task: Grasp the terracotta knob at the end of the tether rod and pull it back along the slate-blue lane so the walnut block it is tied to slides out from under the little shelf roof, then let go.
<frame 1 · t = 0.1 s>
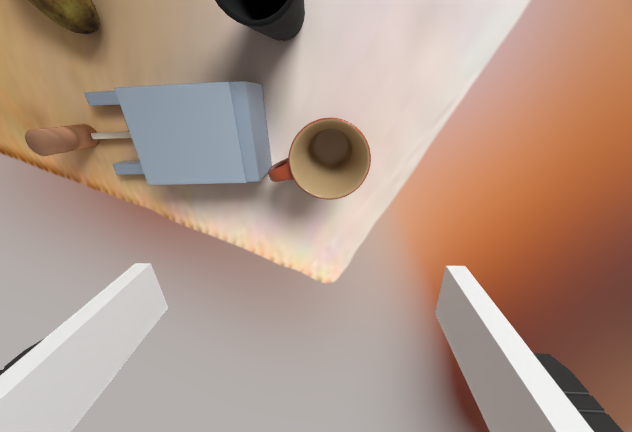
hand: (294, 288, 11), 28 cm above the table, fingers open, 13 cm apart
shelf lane: (182, 131, 36), on the table
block: (222, 130, 36), resting in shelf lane
cup: (281, 12, 30), on the table
mug: (319, 148, 36), on the table
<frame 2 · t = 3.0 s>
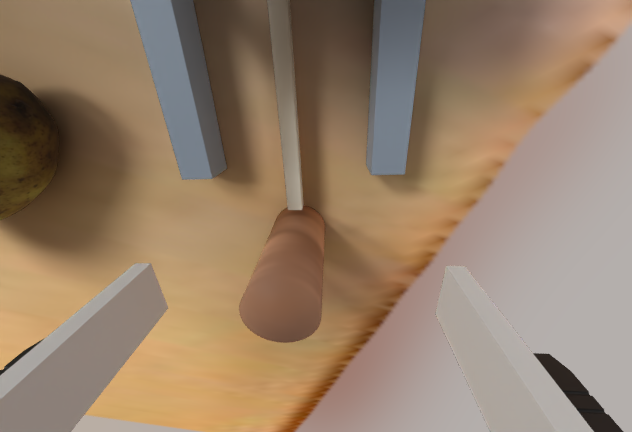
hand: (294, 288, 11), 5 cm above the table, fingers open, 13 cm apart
potato: (1, 156, 15), on the table
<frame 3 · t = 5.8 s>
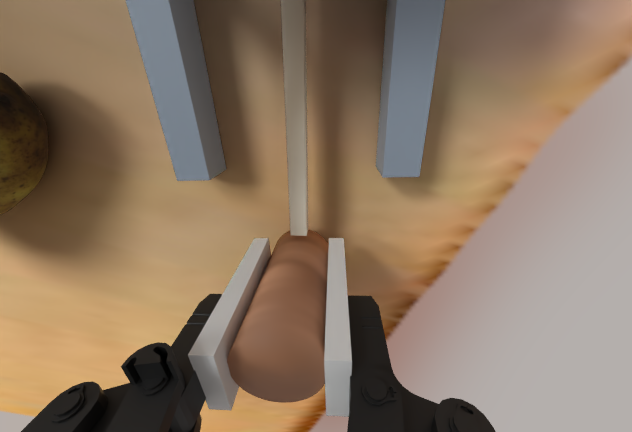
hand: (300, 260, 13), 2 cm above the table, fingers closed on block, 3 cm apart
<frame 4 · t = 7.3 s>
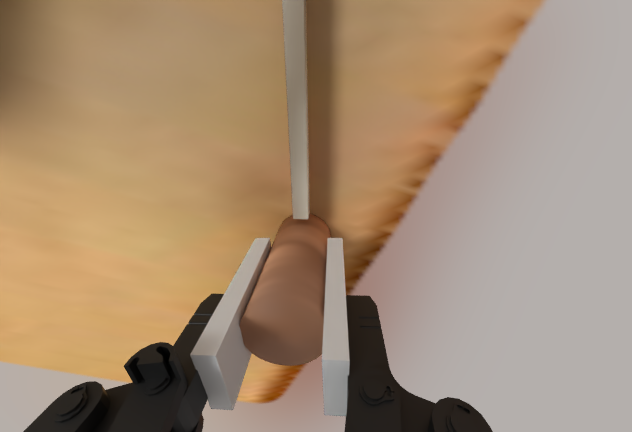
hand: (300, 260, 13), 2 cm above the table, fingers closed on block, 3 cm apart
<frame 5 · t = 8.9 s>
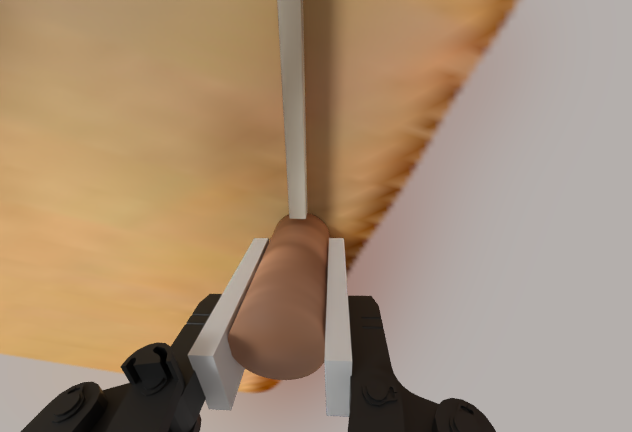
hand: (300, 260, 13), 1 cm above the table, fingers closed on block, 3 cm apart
when the fingers open (1 cm above the table, at t = 9.3 s): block stays where it is, on the table.
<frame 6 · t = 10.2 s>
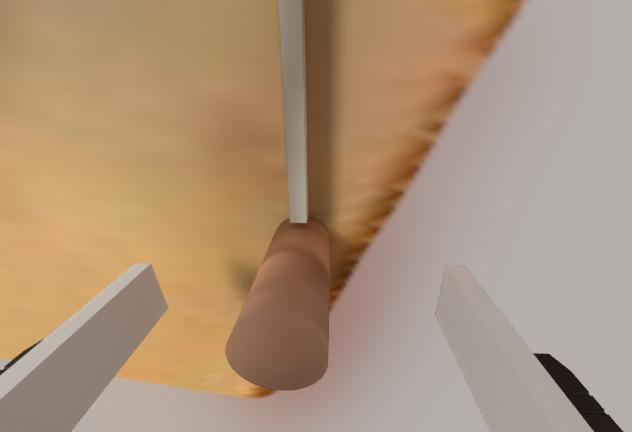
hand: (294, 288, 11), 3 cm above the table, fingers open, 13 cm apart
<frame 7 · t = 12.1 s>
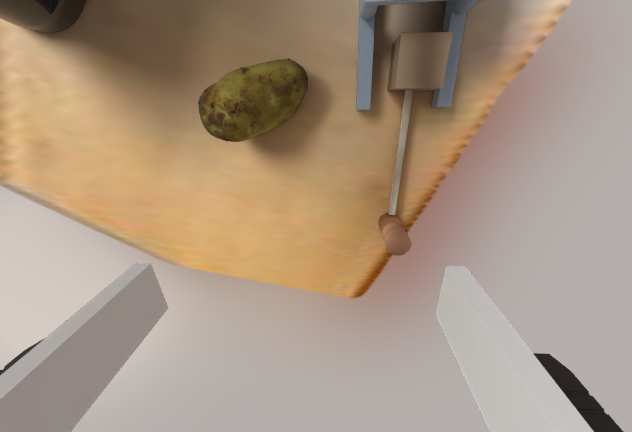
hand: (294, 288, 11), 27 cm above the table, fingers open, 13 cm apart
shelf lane: (409, 1, 28), on the table
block: (410, 68, 30), on the table
potato: (265, 103, 34), on the table
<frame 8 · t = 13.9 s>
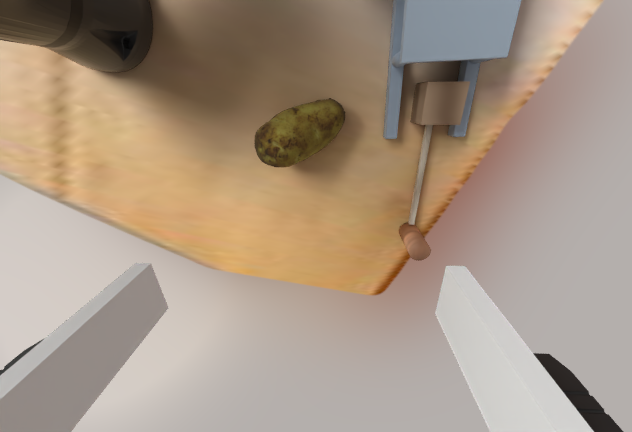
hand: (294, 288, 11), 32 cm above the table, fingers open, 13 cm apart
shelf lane: (432, 50, 33), on the table
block: (430, 103, 36), on the table
potato: (304, 131, 39), on the table
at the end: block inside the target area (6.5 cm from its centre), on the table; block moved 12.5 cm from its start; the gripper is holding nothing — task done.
